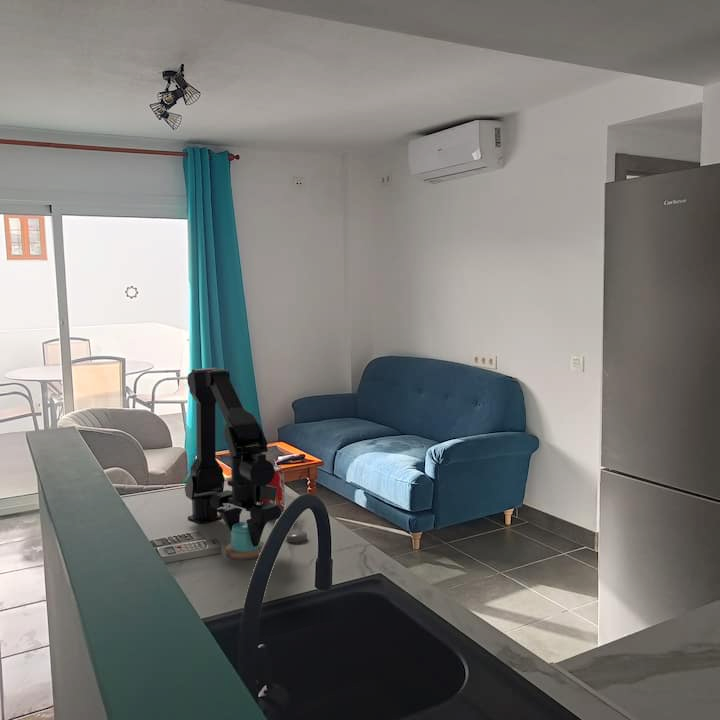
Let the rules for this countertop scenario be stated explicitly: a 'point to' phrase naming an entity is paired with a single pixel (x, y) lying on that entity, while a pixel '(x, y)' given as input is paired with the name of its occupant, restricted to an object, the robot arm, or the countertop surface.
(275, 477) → the soda can
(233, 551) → the round walnut base
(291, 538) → the gray disc
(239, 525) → the teal plastic cap
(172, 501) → the countertop surface
